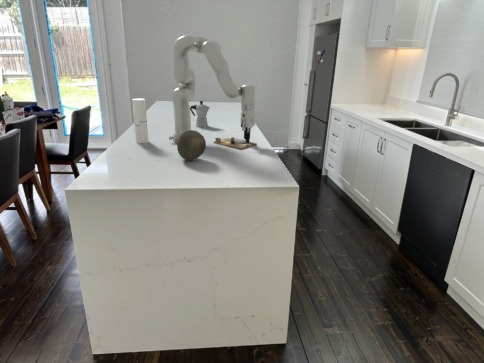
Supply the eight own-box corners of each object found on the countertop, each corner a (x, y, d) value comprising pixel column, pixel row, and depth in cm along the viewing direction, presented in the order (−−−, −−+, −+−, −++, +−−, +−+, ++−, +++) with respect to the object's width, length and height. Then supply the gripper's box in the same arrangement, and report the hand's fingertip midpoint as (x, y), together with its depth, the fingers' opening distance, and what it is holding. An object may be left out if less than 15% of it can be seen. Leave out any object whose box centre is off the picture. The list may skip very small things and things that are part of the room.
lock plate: (240, 149, 191) (240, 144, 190) (213, 142, 204) (213, 137, 202) (256, 144, 202) (256, 139, 201) (230, 138, 214) (230, 133, 213)
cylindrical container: (149, 143, 201) (145, 100, 192) (136, 143, 198) (132, 100, 189) (147, 140, 207) (144, 98, 198) (135, 140, 204) (131, 98, 195)
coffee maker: (211, 125, 249) (211, 100, 243) (209, 127, 241) (209, 102, 234) (191, 124, 250) (190, 99, 244) (188, 127, 242) (187, 101, 236)
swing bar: (230, 143, 199) (230, 133, 197) (229, 142, 202) (229, 132, 199) (249, 142, 202) (250, 132, 199) (248, 141, 204) (249, 131, 202)
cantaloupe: (179, 165, 164) (177, 135, 159) (176, 156, 177) (175, 128, 172) (208, 163, 168) (207, 133, 163) (203, 155, 181) (202, 127, 175)
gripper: (247, 109, 184) (246, 142, 190) (259, 106, 196) (258, 137, 203) (235, 108, 187) (235, 140, 194) (248, 104, 199) (247, 135, 206)
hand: (246, 138), depth 198 cm, fingers closed
